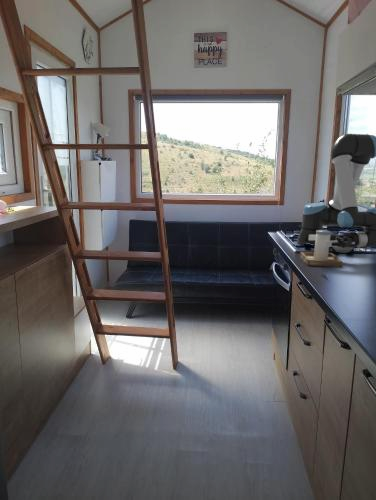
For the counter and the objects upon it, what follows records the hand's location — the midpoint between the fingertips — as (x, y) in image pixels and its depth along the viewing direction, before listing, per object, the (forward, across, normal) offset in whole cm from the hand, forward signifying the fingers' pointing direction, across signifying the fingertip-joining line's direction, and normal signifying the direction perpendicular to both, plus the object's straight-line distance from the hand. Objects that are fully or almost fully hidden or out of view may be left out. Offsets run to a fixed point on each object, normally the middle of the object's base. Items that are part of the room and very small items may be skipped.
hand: (316, 240), depth 186 cm
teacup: (-28, +18, -11) cm, 35 cm away
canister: (-3, 0, -10) cm, 10 cm away
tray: (-3, 0, -10) cm, 11 cm away
